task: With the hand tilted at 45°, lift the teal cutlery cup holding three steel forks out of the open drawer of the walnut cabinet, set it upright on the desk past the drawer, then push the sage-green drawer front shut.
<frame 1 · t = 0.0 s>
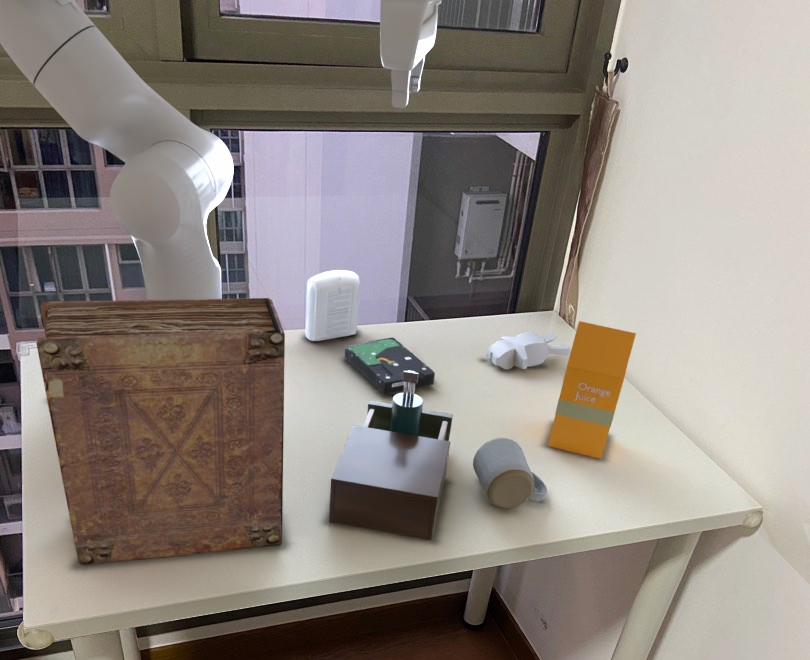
hand: (405, 99, 105), 48 cm above the table, tool pointing down, fingers open, 8 cm apart
bunny figurine: (524, 362, 159), on the table
drawer: (404, 437, 127), point 4 cm above the table, slide at 8.0 cm, touching cutlery cup
cutlery cup: (402, 452, 127), point 2 cm above the table, touching drawer
ceramic mug: (508, 495, 124), on the table
book: (180, 534, 110), on the table
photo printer: (331, 336, 160), on the table
orange juice: (577, 442, 138), on the table
disk drive: (388, 373, 150), on the table
cabinet: (388, 501, 120), on the table
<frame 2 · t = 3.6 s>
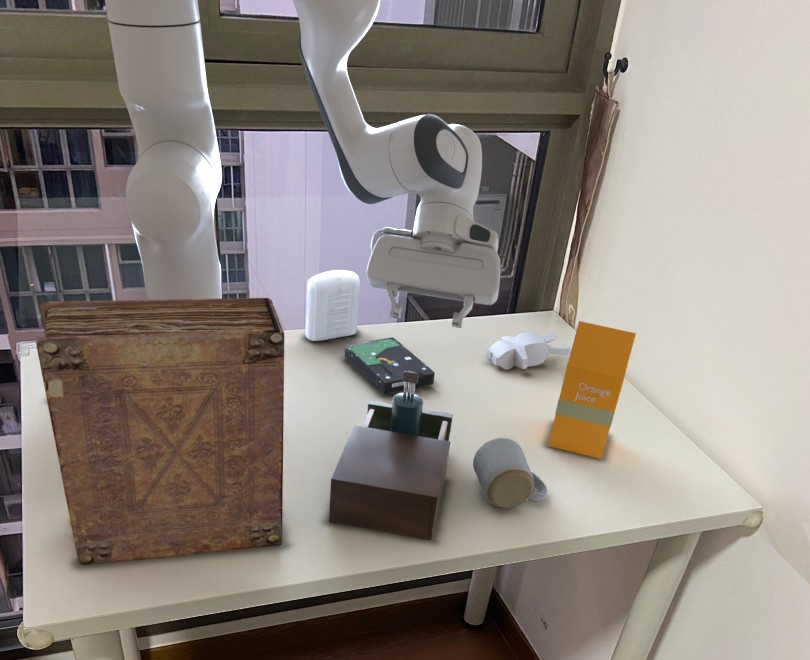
hand: (425, 321, 127), 17 cm above the table, tool tilted 45°, fingers open, 8 cm apart
nothing on the table moved.
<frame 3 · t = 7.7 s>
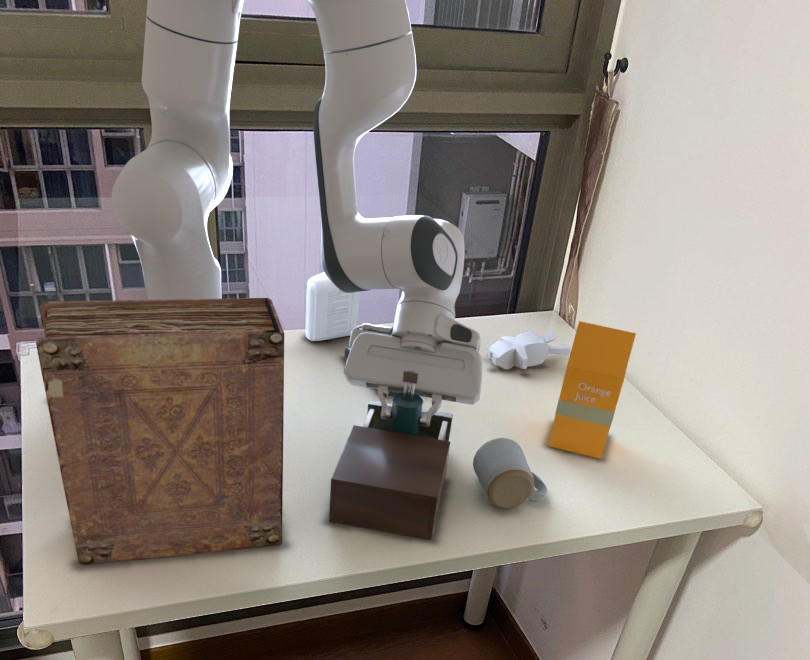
hand: (405, 422, 123), 7 cm above the table, tool tilted 45°, fingers closed on cutlery cup, 4 cm apart
cutlery cup: (402, 452, 127), point 2 cm above the table, touching drawer, gripper
everything else where it was.
when the fingers open (5 cm above the table, at t = 17.8 s): cutlery cup stays where it is, on the table.
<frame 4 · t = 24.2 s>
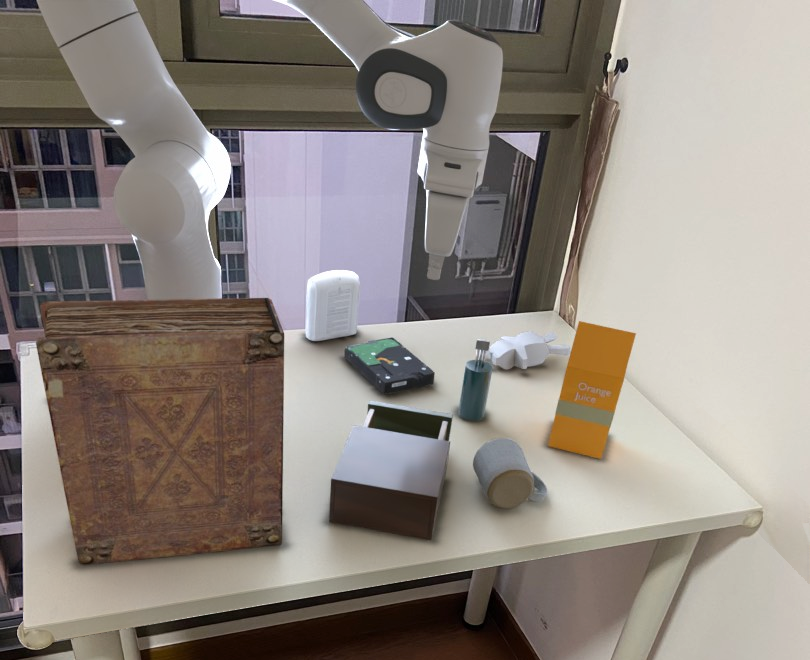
hand: (434, 266, 120), 26 cm above the table, tool pointing down, fingers open, 8 cm apart
drawer: (404, 437, 127), point 4 cm above the table, slide at 8.0 cm
cutlery cup: (471, 414, 141), on the table
everything else where it was.
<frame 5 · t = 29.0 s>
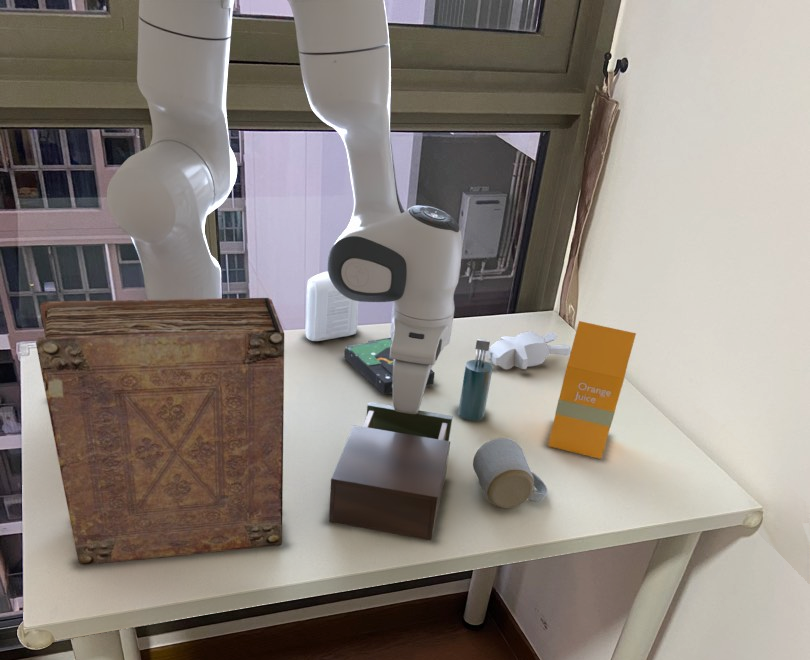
hand: (411, 410, 130), 5 cm above the table, tool pointing down, fingers closed
drawer: (404, 439, 126), point 4 cm above the table, slide at 7.5 cm, touching gripper
everything else where it was.
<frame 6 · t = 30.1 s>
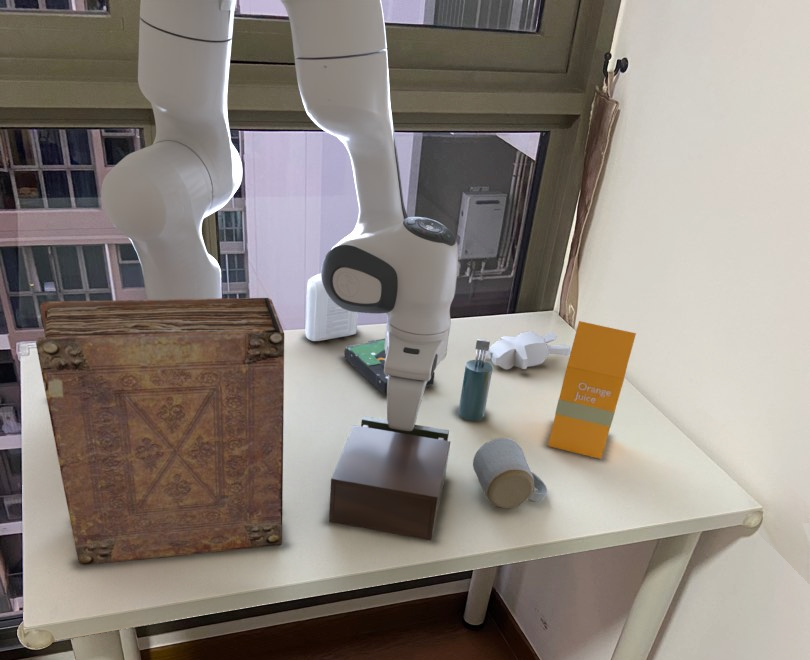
hand: (407, 425, 127), 5 cm above the table, tool pointing down, fingers closed
drawer: (399, 454, 123), point 4 cm above the table, slide at 3.1 cm, touching gripper
everything else where it was.
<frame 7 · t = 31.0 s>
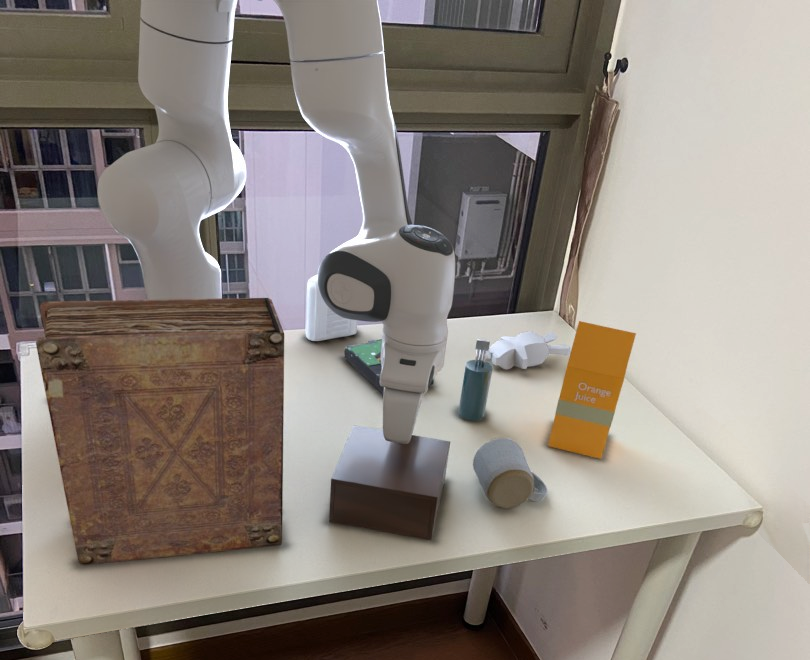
hand: (403, 437, 124), 5 cm above the table, tool pointing down, fingers closed
drawer: (395, 466, 120), point 4 cm above the table, slide at 0.0 cm, touching cabinet, gripper
everything else where it was.
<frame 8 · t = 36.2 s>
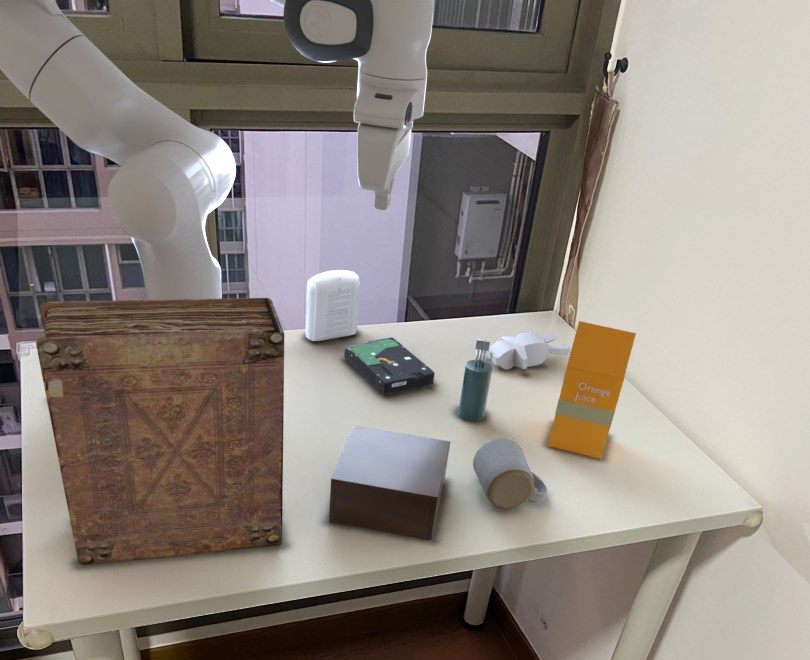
hand: (382, 206, 118), 33 cm above the table, tool pointing down, fingers closed
drawer: (395, 466, 120), point 4 cm above the table, slide at 0.0 cm, touching cabinet
everything else where it was.
at the end: cutlery cup inside the target area (0.0 cm from its centre), on the table; cutlery cup tilted 0°; drawer slide at 0.0 cm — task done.
